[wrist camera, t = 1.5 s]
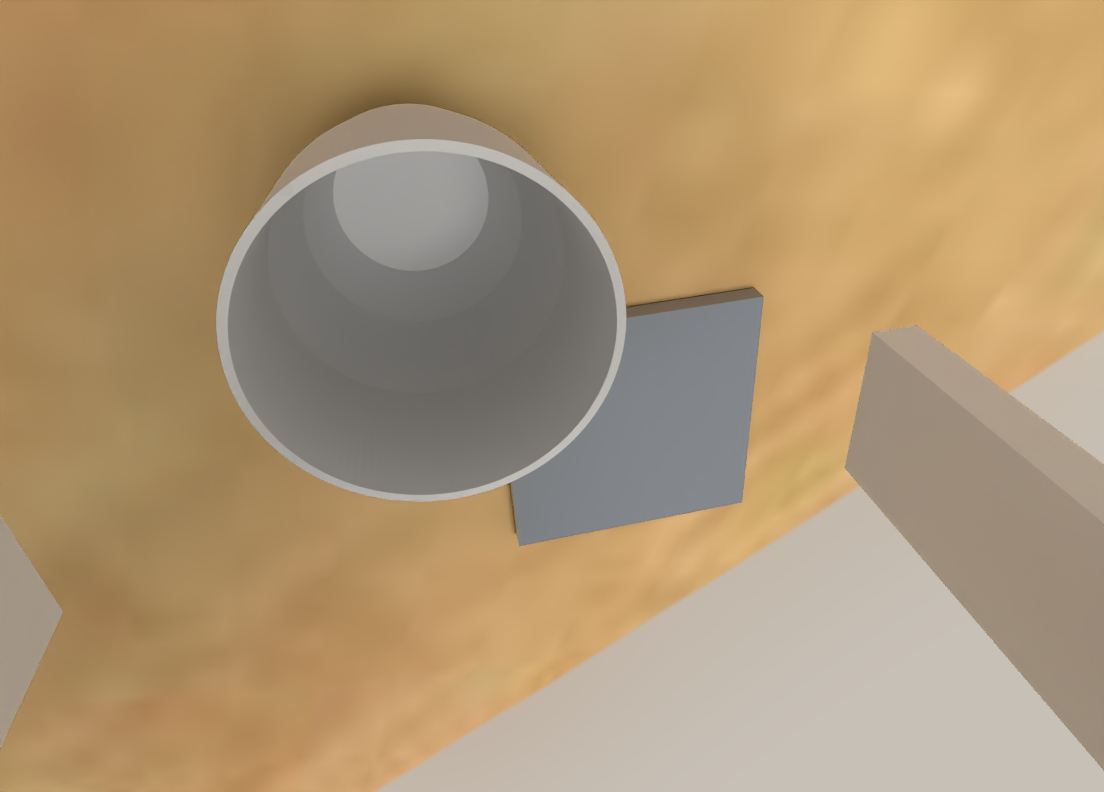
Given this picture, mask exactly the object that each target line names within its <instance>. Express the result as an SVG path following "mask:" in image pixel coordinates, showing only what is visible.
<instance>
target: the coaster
mask: <svg viewBox="0 0 1104 792" xmlns="http://www.w3.org/2000/svg"><path fill="white" fill-rule="evenodd" d="M763 298H764V296H762V295H761V294H760V293H759V292H758V291H757V290H756V289H755V288H749V289H743V290H736V291H730V292H723V293H717V294H710V295H704V296H697V297H691V298H684V299H678V300H671V301H665V302H658V303H652V304H645V305H639V306H632V307H626V333H625V342H624V348H623V352H622V357H621V360H620V364H619V367H618V370H617V373H616V376H615V378H614V381H613V383H612V385H611V388H610V390H609V392H608V394H607V396H606V397H605V399H604V401H603V403H602V404H601V406H600V408H599V409H598V411H597V412H596V414H595V415H594V416H593V418H592V419H591V420H590V422H589V423H588V424H587V426H586V427H585V428H584V429H583V430H582V431H581V432H580V434H579V435H578V436H577V437H576V438H575V439H574V440H573V441H572V442H571V443H570V444H569V445H568V446H566V447H565V448H564V449H563V450H562V451H561V452H559V453H558V454H557V455H556V456H554V457H553V458H552V459H550V460H549V461H548V462H546V463H545V464H543V465H542V466H540V467H539V468H537V469H535V470H534V471H532V472H530V473H528V474H527V475H525V476H523V477H521V478H519V479H517V480H515V481H512V482H510V487H511V495H512V503H513V511H514V519H515V527H516V534H517V538H518V543H519V546H522V545H527V544H533V543H538V542H543V541H548V540H553V539H558V538H563V537H568V536H573V535H578V534H583V533H589V532H594V531H599V530H604V529H609V528H614V527H619V526H624V525H629V524H634V523H639V522H644V521H650V520H655V519H660V518H665V517H670V516H675V515H680V514H685V513H690V512H695V511H700V510H705V509H711V508H716V507H721V506H726V505H731V504H736V503H741V502H742V497H743V487H744V478H745V468H746V459H747V449H748V440H749V430H750V421H751V411H752V402H753V393H754V383H755V374H756V364H757V355H758V345H759V336H760V326H761V317H762V307H763Z"/></svg>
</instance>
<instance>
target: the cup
mask: <svg viewBox="0 0 1104 792" xmlns="http://www.w3.org/2000/svg"><path fill="white" fill-rule="evenodd" d="M625 333H626V302H625V294H624V288H623V283H622V279H621V275H620V272H619V269H618V266H617V263H616V260H615V258H614V255H613V253H612V251H611V248H610V246H609V244H608V242H607V240H606V239H605V237H604V235H603V234H602V232H601V230H600V229H599V227H598V226H597V224H596V223H595V221H594V220H593V219H592V217H591V216H590V215H589V214H588V212H587V211H586V210H585V209H584V208H583V207H582V205H581V204H580V203H579V202H578V201H577V200H576V199H575V198H574V197H573V196H572V195H571V194H570V193H569V192H568V191H567V190H566V189H564V188H563V187H562V186H561V185H560V184H559V183H558V182H557V181H556V180H555V179H554V178H553V177H552V176H551V175H550V174H549V173H548V172H547V171H546V170H545V169H544V168H543V167H542V166H541V165H540V164H539V163H538V162H536V161H535V160H534V159H533V158H532V157H531V156H530V155H529V154H528V153H527V152H526V151H525V150H524V149H523V148H522V147H521V146H519V145H518V144H517V143H516V142H514V141H513V140H512V139H510V138H509V137H508V136H506V135H505V134H503V133H502V132H500V131H498V130H497V129H495V128H493V127H491V126H489V125H487V124H485V123H483V122H481V121H479V120H476V119H474V118H471V117H469V116H466V115H462V114H459V113H456V112H453V111H449V110H446V109H443V108H439V107H435V106H430V105H424V104H393V105H387V106H382V107H378V108H374V109H371V110H368V111H366V112H363V113H361V114H359V115H357V116H355V117H353V118H351V119H349V120H347V121H345V122H343V123H341V124H339V125H337V126H335V127H333V128H331V129H330V130H328V131H326V132H325V133H323V134H322V135H320V136H319V137H317V138H316V139H315V140H314V141H312V142H311V143H310V144H309V145H307V146H306V147H305V148H304V149H303V150H302V151H301V152H300V153H299V154H298V155H297V156H296V157H295V158H294V159H293V160H292V162H291V163H290V164H289V165H288V167H287V168H286V169H285V171H284V172H283V174H282V175H281V176H280V178H279V179H278V181H277V182H276V184H275V185H274V187H273V188H272V190H271V191H270V193H269V194H268V196H267V197H266V199H265V200H264V202H263V204H262V205H261V207H260V208H259V210H258V211H257V213H256V214H255V216H254V217H253V219H252V220H251V222H250V223H249V225H248V226H247V228H246V229H245V231H244V232H243V234H242V235H241V237H240V239H239V240H238V242H237V244H236V246H235V248H234V250H233V252H232V254H231V256H230V258H229V261H228V263H227V266H226V269H225V272H224V275H223V278H222V282H221V286H220V290H219V295H218V302H217V313H216V334H217V344H218V350H219V355H220V360H221V364H222V367H223V371H224V374H225V377H226V380H227V382H228V385H229V387H230V389H231V391H232V393H233V396H234V397H235V399H236V401H237V403H238V405H239V406H240V408H241V410H242V411H243V413H244V414H245V416H246V417H247V419H248V420H249V421H250V423H251V424H252V425H253V427H254V428H255V429H256V430H257V431H258V433H259V434H260V435H261V436H262V437H263V438H264V439H265V440H266V441H267V442H268V443H269V444H270V445H271V446H272V447H273V448H274V449H275V450H277V451H278V452H279V453H280V454H281V455H283V456H284V457H285V458H286V459H288V460H289V461H290V462H292V463H293V464H295V465H296V466H298V467H299V468H301V469H302V470H304V471H306V472H307V473H309V474H311V475H313V476H315V477H317V478H319V479H321V480H323V481H325V482H327V483H330V484H332V485H334V486H337V487H339V488H342V489H345V490H348V491H351V492H355V493H358V494H362V495H366V496H371V497H375V498H381V499H388V500H397V501H415V502H421V501H440V500H449V499H456V498H462V497H466V496H471V495H475V494H479V493H482V492H486V491H489V490H492V489H495V488H498V487H500V486H503V485H505V484H508V483H510V482H512V481H515V480H517V479H519V478H521V477H523V476H525V475H527V474H528V473H530V472H532V471H534V470H535V469H537V468H539V467H540V466H542V465H543V464H545V463H546V462H548V461H549V460H550V459H552V458H553V457H554V456H556V455H557V454H558V453H559V452H561V451H562V450H563V449H564V448H565V447H566V446H568V445H569V444H570V443H571V442H572V441H573V440H574V439H575V438H576V437H577V436H578V435H579V434H580V432H581V431H582V430H583V429H584V428H585V427H586V426H587V424H588V423H589V422H590V420H591V419H592V418H593V416H594V415H595V414H596V412H597V411H598V409H599V408H600V406H601V404H602V403H603V401H604V399H605V397H606V396H607V394H608V392H609V390H610V388H611V385H612V383H613V381H614V378H615V376H616V373H617V370H618V367H619V364H620V360H621V357H622V352H623V348H624V342H625Z"/></svg>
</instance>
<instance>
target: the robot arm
mask: <svg viewBox="0 0 1104 792" xmlns="http://www.w3.org/2000/svg"><path fill="white" fill-rule="evenodd" d="M845 469H846V470H847V471H848V472H849V473H850V475H851V476H852V477H853V478H854V479H855V480H856V482H857V483H858V484H859V485H860V486H861V487H862V489H863V490H864V491H865V492H866V493H867V494H868V496H869V497H870V498H871V499H872V500H873V501H874V503H875V504H876V505H877V506H878V507H879V508H880V509H881V511H882V512H883V513H884V514H885V515H886V517H887V518H888V519H889V520H890V521H891V522H892V524H893V525H894V526H895V527H896V528H897V529H898V530H899V532H900V533H901V534H902V535H903V536H904V538H905V539H906V540H907V541H908V542H909V543H910V545H912V547H913V548H914V549H915V550H916V552H917V553H918V554H919V555H920V556H921V557H922V559H923V560H924V561H925V562H926V563H927V564H928V566H929V567H930V568H931V569H932V570H933V571H934V573H935V574H936V575H937V576H938V577H939V578H940V580H941V581H942V582H943V583H944V584H945V586H946V587H947V588H948V589H949V590H950V591H951V593H952V594H953V595H954V596H955V597H956V598H957V600H958V601H959V602H960V603H961V604H962V605H963V606H964V608H965V609H966V610H967V611H968V612H969V613H970V615H971V616H972V617H973V618H974V619H975V620H976V622H977V623H978V624H979V625H980V626H981V628H982V629H983V630H984V631H985V632H986V633H987V635H989V637H990V638H991V639H992V640H993V641H994V643H995V644H996V645H997V646H998V647H999V649H1000V650H1001V651H1002V652H1003V653H1004V654H1005V656H1006V657H1007V658H1008V659H1009V660H1010V661H1011V663H1012V664H1013V665H1014V666H1015V667H1016V668H1017V670H1018V671H1019V672H1020V673H1021V674H1022V675H1023V677H1024V678H1025V679H1026V680H1027V681H1028V682H1029V684H1030V685H1031V686H1032V687H1033V688H1034V689H1035V691H1036V692H1037V693H1038V694H1039V695H1040V696H1041V698H1042V699H1043V700H1044V701H1045V702H1046V703H1047V705H1048V706H1049V707H1050V708H1051V709H1052V710H1053V711H1054V713H1055V714H1056V715H1057V716H1058V717H1059V719H1060V720H1061V721H1062V722H1063V723H1064V724H1065V726H1066V727H1067V728H1068V729H1069V730H1070V731H1071V733H1072V734H1073V735H1074V736H1075V737H1076V738H1077V740H1078V741H1079V742H1080V743H1081V744H1082V746H1083V747H1084V748H1085V749H1086V750H1087V751H1088V752H1089V754H1090V755H1091V756H1092V757H1093V758H1094V759H1095V761H1096V762H1097V763H1098V764H1099V765H1100V767H1101V768H1102V769H1103V770H1104V464H1102V463H1101V462H1100V461H1098V460H1097V459H1096V458H1095V457H1093V456H1092V455H1091V454H1089V453H1088V452H1086V451H1085V450H1084V449H1082V448H1081V447H1080V446H1078V445H1077V444H1076V443H1074V442H1073V441H1072V440H1070V439H1069V438H1068V437H1066V436H1065V435H1064V434H1062V433H1061V432H1059V431H1058V430H1057V429H1056V428H1054V427H1053V426H1052V425H1050V424H1049V423H1047V422H1046V421H1045V420H1044V419H1042V418H1041V417H1039V416H1038V415H1037V414H1035V413H1034V412H1033V411H1031V410H1030V409H1029V408H1027V407H1026V406H1024V405H1023V404H1022V403H1021V402H1019V401H1018V400H1017V399H1015V398H1014V397H1013V396H1011V395H1010V394H1009V393H1007V392H1006V391H1005V390H1003V389H1002V388H1001V387H999V386H998V385H997V384H995V383H994V382H993V381H991V380H990V379H988V378H987V377H986V376H984V375H983V374H982V373H980V372H979V371H978V370H976V369H975V368H974V367H972V366H971V365H970V364H968V363H967V362H966V361H964V360H963V359H962V358H960V357H959V356H958V355H956V354H955V353H954V352H952V351H951V350H950V349H948V348H947V347H946V346H944V345H943V344H941V343H940V342H939V341H937V340H936V339H935V338H933V337H932V336H931V335H929V334H928V333H927V332H925V331H924V330H923V329H921V328H920V327H919V326H917V325H915V326H909V327H902V328H896V329H890V330H884V331H877V332H873V333H872V337H871V342H870V347H869V352H868V357H867V362H866V367H865V372H864V377H863V382H862V386H861V391H860V396H859V401H858V406H857V411H856V416H855V421H854V426H853V431H852V435H851V440H850V445H849V450H848V455H847V460H846V465H845ZM62 614H63V611H62V609H61V608H60V606H59V605H58V603H57V602H56V600H55V598H54V597H53V595H52V594H51V592H50V591H49V589H48V588H47V586H46V585H45V583H44V581H43V580H42V578H41V577H40V575H39V574H38V572H37V571H36V569H35V568H34V566H33V564H32V563H31V561H30V560H29V558H28V557H27V555H26V554H25V552H24V550H23V549H22V547H21V546H20V544H19V543H18V541H17V540H16V538H15V537H14V535H13V533H12V532H11V530H10V529H9V527H8V526H7V524H6V523H5V521H4V520H3V518H2V516H1V515H0V748H1V746H2V744H3V742H4V739H5V737H6V735H7V733H8V731H9V729H10V726H11V724H12V722H13V720H14V718H15V716H16V713H17V711H18V709H19V707H20V705H21V703H22V700H23V698H24V696H25V694H26V692H27V690H28V687H29V685H30V683H31V681H32V679H33V677H34V674H35V672H36V670H37V668H38V666H39V664H40V661H41V659H42V657H43V655H44V653H45V651H46V648H47V646H48V644H49V642H50V640H51V638H52V636H53V633H54V631H55V629H56V627H57V625H58V623H59V620H60V618H61V616H62Z"/></svg>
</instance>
